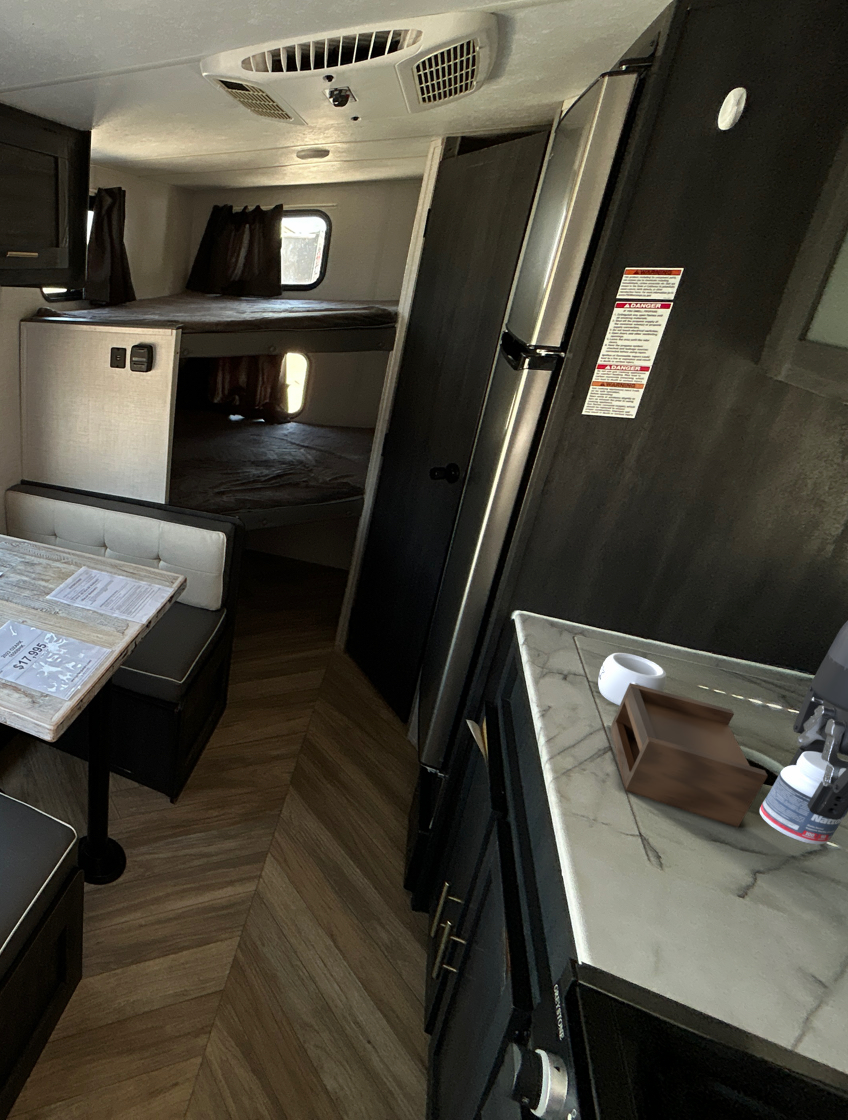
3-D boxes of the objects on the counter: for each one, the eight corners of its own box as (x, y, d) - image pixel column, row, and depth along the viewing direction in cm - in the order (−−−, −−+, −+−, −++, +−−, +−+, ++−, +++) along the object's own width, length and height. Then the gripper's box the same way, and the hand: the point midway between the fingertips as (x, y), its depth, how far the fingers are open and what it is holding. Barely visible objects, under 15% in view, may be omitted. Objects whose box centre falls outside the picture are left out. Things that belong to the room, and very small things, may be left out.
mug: (592, 680, 119) (606, 644, 116) (652, 699, 114) (669, 662, 111) (590, 712, 110) (605, 675, 107) (654, 734, 105) (672, 695, 102)
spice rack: (705, 760, 100) (731, 709, 96) (736, 831, 87) (767, 776, 83) (608, 731, 106) (629, 682, 102) (624, 793, 93) (648, 740, 89)
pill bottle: (802, 849, 67) (841, 786, 64) (745, 810, 72) (778, 750, 69) (842, 842, 68) (882, 779, 65) (782, 804, 73) (817, 744, 69)
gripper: (994, 720, 54) (896, 861, 61) (907, 642, 66) (832, 767, 72) (864, 692, 58) (785, 826, 65) (803, 622, 69) (741, 743, 76)
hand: (810, 795), depth 68 cm, fingers closed on pill bottle, 5 cm apart
